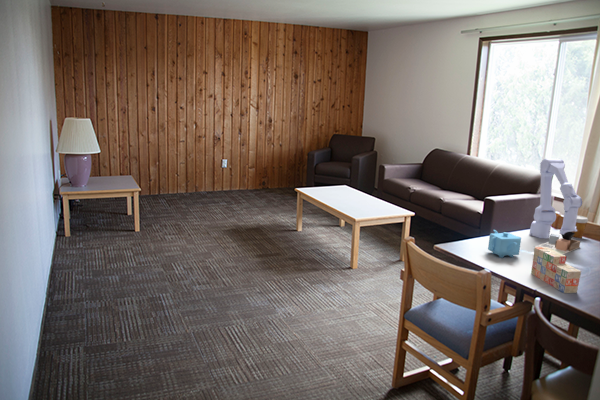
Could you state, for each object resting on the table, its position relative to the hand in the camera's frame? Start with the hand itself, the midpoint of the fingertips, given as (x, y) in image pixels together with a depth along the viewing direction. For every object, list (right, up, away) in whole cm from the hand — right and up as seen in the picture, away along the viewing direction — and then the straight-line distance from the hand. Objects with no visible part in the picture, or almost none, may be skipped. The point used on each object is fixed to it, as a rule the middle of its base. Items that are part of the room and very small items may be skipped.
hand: (565, 245), depth 242 cm
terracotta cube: (-2, -1, -2) cm, 3 cm away
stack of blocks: (-29, -12, -42) cm, 53 cm away
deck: (-4, -2, +2) cm, 5 cm away
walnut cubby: (+2, -1, +2) cm, 3 cm away
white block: (-2, +1, +8) cm, 9 cm away
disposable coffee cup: (+18, +2, +23) cm, 29 cm away
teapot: (-36, -4, -9) cm, 37 cm away
